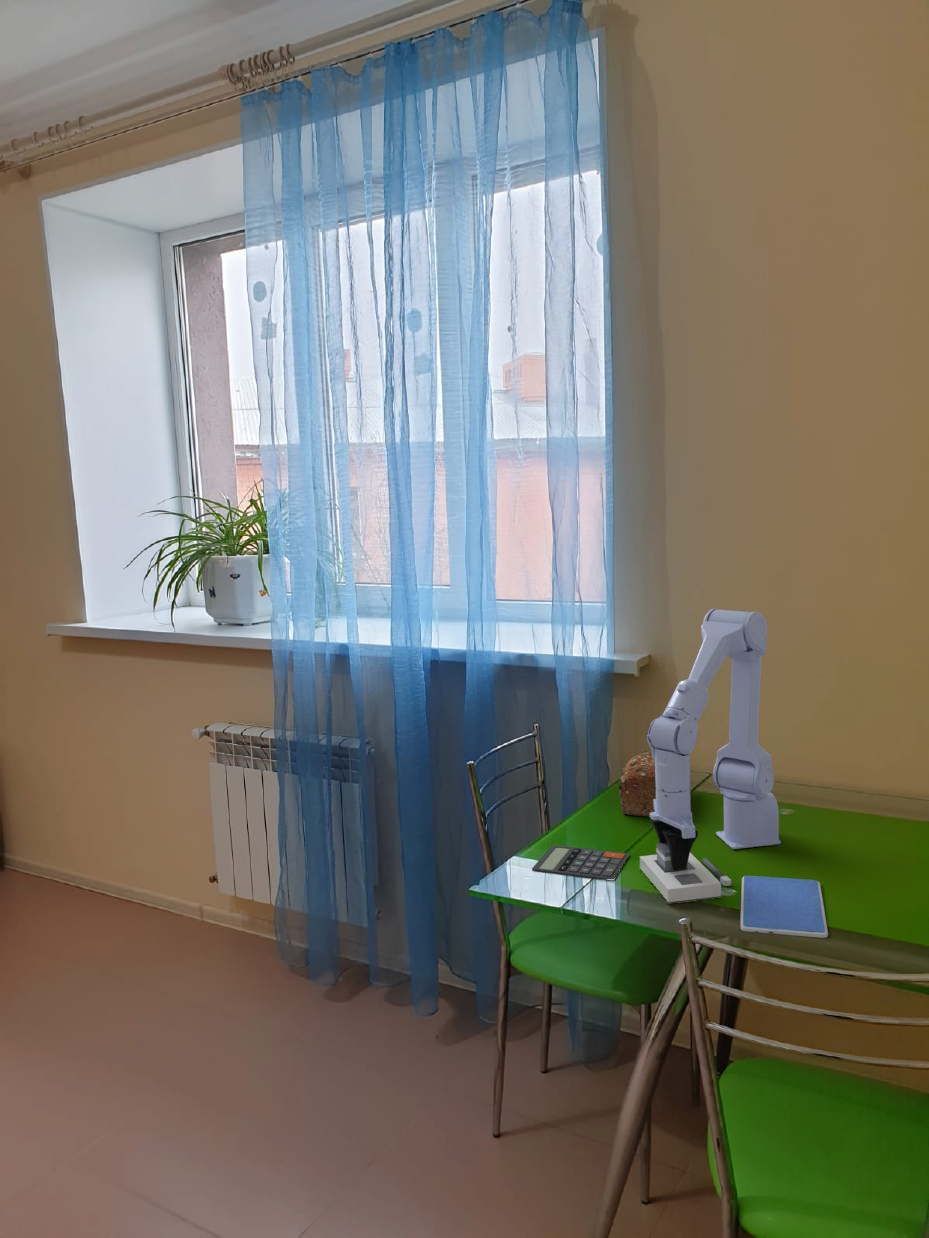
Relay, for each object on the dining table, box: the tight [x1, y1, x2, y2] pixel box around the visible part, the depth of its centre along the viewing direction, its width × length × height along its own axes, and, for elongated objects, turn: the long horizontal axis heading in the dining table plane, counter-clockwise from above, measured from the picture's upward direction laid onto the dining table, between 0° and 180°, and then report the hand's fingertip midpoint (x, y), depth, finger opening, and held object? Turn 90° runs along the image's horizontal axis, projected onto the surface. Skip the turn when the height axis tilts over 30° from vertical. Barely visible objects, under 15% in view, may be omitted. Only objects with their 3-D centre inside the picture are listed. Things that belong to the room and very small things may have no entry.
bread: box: [618, 750, 656, 818], centre depth 202 cm, size 19×11×10 cm, turn 159°
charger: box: [655, 843, 688, 873], centre depth 164 cm, size 4×4×5 cm
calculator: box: [531, 844, 631, 880], centre depth 173 cm, size 12×1×15 cm
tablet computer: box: [739, 875, 829, 939], centre depth 152 cm, size 19×13×1 cm, turn 163°
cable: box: [702, 857, 732, 887], centre depth 166 cm, size 1×10×1 cm, turn 9°
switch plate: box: [639, 852, 722, 903], centre depth 162 cm, size 9×14×3 cm, turn 8°
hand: (674, 863), depth 164 cm, fingers closed on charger, 4 cm apart
